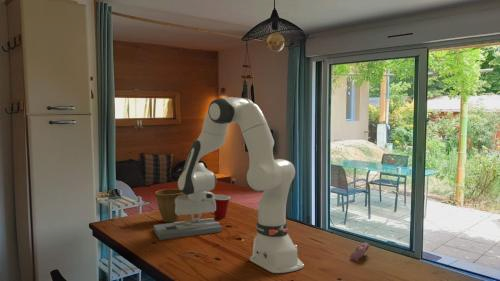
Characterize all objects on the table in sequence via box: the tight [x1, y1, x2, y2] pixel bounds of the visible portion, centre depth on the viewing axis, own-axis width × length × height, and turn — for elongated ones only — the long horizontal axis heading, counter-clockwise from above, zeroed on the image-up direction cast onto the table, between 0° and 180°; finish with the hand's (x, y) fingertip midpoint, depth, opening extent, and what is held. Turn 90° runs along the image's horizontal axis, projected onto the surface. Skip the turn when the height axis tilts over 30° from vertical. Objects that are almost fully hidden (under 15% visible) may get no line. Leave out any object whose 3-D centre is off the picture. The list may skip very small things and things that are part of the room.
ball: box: [183, 217, 193, 226], centre depth 184 cm, size 4×4×4 cm
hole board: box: [153, 217, 223, 241], centre depth 184 cm, size 16×30×4 cm, turn 114°
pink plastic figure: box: [349, 242, 371, 261], centre depth 151 cm, size 10×5×7 cm, turn 149°
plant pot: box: [155, 188, 185, 224], centre depth 201 cm, size 15×15×16 cm
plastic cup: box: [213, 194, 231, 220], centre depth 208 cm, size 11×11×12 cm
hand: (195, 222), depth 186 cm, fingers closed
